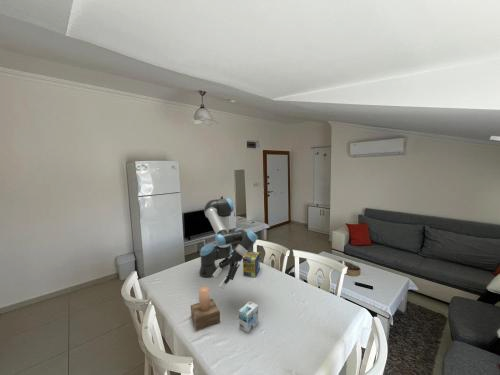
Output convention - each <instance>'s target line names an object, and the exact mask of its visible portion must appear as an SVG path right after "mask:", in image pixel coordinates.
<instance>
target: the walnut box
mask: <svg viewBox="0 0 500 375" xmlns="http://www.w3.org/2000/svg"><path fill="white" fill-rule="evenodd" d="M190 315H191V319H192V321H193V325H194V328H195V330H196V331H200V330H202V329H205V328H208V327H211V326H214V325H216V324H219V323H221V312H220V309H219V308H218V306H217V304H216V302H215V300H214V298H210V309H209V310H207V311H201V310H200V302H198V303H194V304H191V305H190Z"/></svg>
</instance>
